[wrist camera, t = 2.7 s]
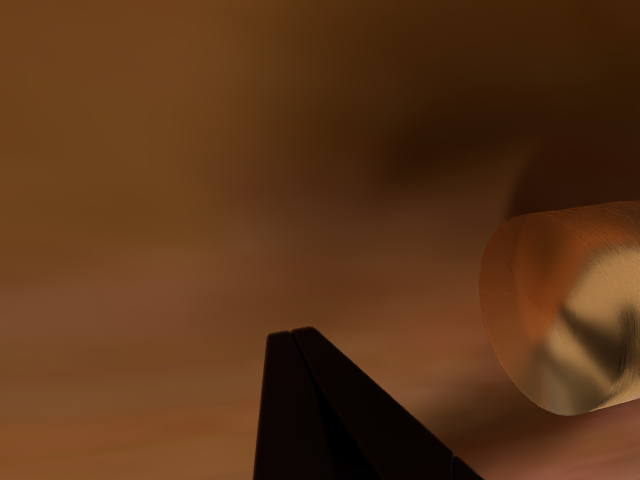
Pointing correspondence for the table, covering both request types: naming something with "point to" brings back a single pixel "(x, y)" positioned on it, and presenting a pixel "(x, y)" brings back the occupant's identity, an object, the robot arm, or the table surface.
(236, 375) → the table surface
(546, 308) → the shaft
